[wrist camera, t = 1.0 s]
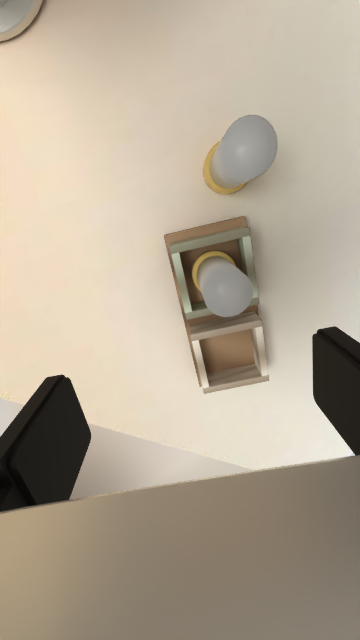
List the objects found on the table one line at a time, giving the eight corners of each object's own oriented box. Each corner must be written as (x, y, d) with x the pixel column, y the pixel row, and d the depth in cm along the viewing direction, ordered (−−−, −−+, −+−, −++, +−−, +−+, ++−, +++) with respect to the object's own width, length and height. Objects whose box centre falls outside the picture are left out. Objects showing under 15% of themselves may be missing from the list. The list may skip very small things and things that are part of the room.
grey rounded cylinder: (199, 150, 29) (211, 118, 19) (244, 138, 28) (279, 99, 19) (207, 199, 30) (222, 191, 21) (251, 188, 30) (285, 175, 21)
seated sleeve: (187, 254, 31) (193, 271, 22) (229, 245, 31) (253, 257, 21) (196, 295, 33) (204, 326, 23) (236, 286, 32) (261, 314, 23)
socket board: (164, 234, 32) (162, 237, 27) (241, 216, 31) (252, 216, 27) (198, 380, 38) (201, 400, 34) (262, 367, 38) (273, 386, 34)
